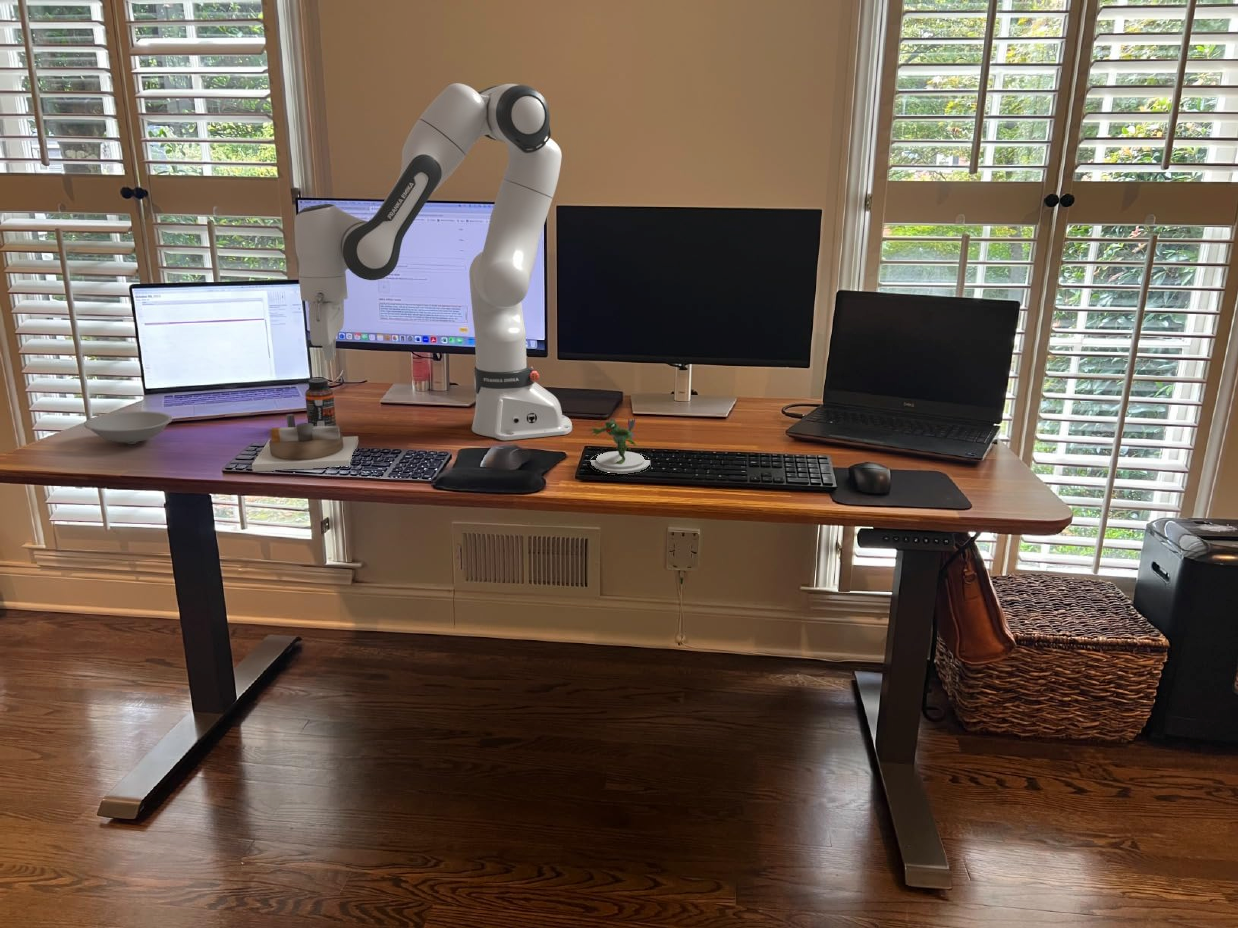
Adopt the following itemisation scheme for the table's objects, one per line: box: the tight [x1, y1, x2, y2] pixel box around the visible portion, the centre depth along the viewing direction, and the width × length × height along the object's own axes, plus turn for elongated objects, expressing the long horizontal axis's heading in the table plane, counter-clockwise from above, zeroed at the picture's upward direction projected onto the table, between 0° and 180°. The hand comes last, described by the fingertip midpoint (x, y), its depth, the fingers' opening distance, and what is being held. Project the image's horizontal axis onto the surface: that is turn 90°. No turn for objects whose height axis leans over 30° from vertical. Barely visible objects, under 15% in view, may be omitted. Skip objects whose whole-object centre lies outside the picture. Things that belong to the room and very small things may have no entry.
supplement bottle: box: [304, 377, 337, 426], centre depth 195 cm, size 6×6×11 cm
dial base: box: [251, 413, 359, 473], centre depth 178 cm, size 18×16×7 cm
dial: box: [269, 422, 344, 460], centre depth 178 cm, size 14×14×5 cm
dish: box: [83, 410, 173, 445], centre depth 186 cm, size 18×14×5 cm
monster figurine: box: [588, 418, 651, 475], centre depth 174 cm, size 12×12×10 cm
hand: (330, 359), depth 178 cm, fingers closed
